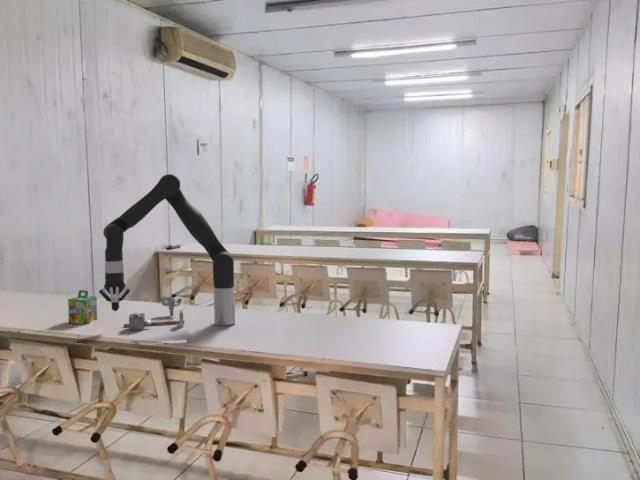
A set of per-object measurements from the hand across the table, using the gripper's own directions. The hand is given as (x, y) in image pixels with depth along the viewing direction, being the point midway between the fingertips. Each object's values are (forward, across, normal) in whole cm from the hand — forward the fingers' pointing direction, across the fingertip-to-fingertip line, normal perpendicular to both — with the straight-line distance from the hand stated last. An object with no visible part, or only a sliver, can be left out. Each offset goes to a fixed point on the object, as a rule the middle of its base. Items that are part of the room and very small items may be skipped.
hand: (115, 310), depth 228 cm
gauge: (+8, -10, +1) cm, 13 cm away
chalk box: (+10, +17, -24) cm, 31 cm away
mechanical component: (+10, -23, -21) cm, 32 cm away
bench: (+10, -16, 0) cm, 19 cm away
